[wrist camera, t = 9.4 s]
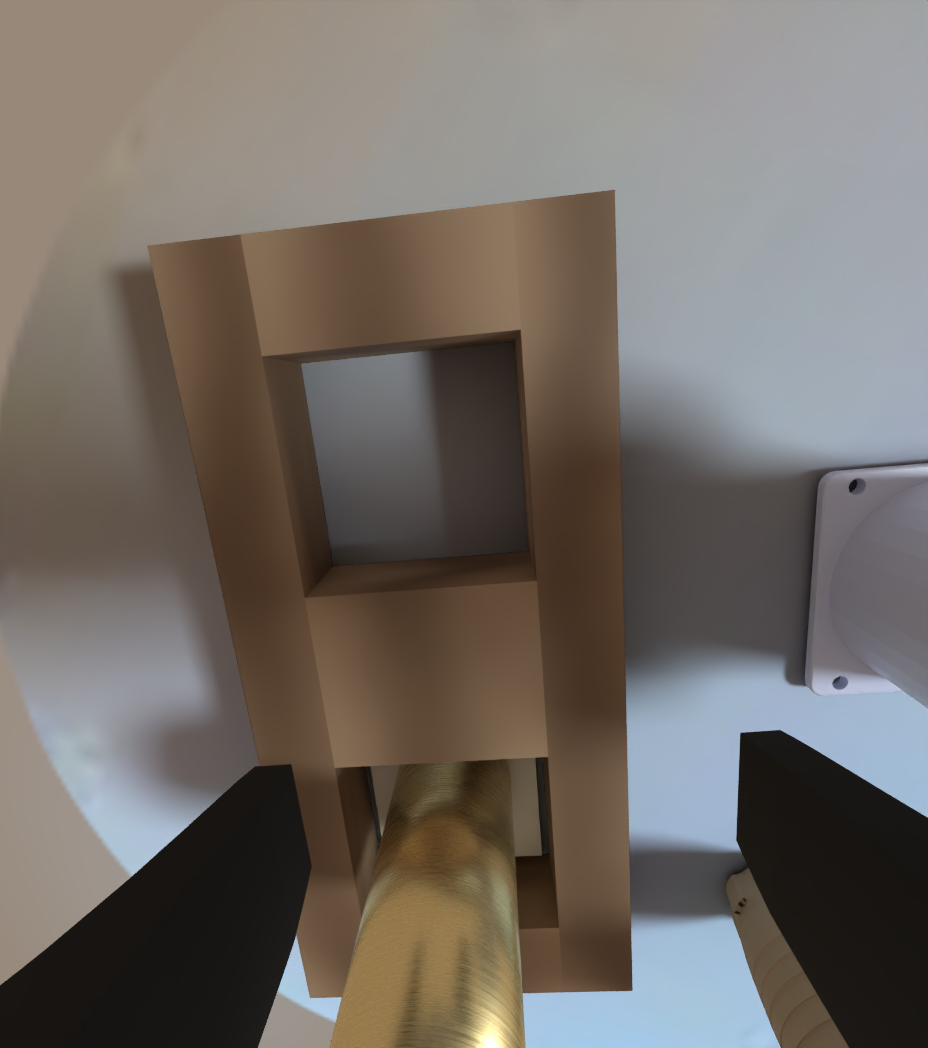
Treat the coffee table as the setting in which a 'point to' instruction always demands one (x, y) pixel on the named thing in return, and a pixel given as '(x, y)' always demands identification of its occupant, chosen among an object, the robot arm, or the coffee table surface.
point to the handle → (778, 972)
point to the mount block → (429, 584)
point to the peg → (440, 918)
